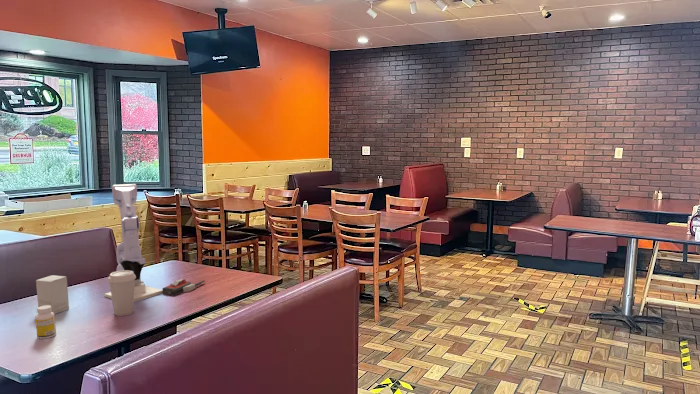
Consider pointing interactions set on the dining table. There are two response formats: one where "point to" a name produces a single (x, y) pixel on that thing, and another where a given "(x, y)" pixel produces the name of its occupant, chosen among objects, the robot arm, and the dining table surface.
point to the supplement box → (53, 293)
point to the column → (138, 282)
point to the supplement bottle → (45, 322)
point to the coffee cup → (122, 291)
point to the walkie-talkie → (179, 287)
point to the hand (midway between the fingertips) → (133, 278)
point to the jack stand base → (141, 292)
